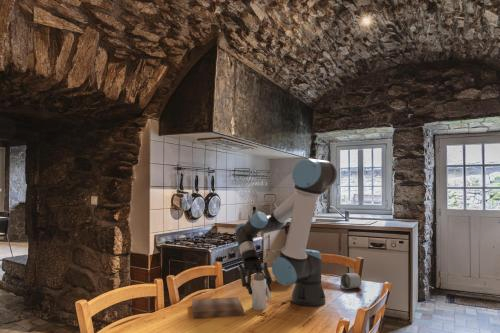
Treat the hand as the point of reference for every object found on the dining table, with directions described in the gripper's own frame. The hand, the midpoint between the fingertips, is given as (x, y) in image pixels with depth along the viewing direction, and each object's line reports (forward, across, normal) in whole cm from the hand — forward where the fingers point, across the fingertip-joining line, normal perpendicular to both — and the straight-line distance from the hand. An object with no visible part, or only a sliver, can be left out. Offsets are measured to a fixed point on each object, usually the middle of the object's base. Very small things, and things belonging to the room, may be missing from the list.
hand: (262, 299), depth 149 cm
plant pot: (-25, -31, -31) cm, 51 cm away
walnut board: (-2, +18, -8) cm, 19 cm away
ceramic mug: (-9, -56, -15) cm, 58 cm away
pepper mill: (+1, 0, -6) cm, 6 cm away
